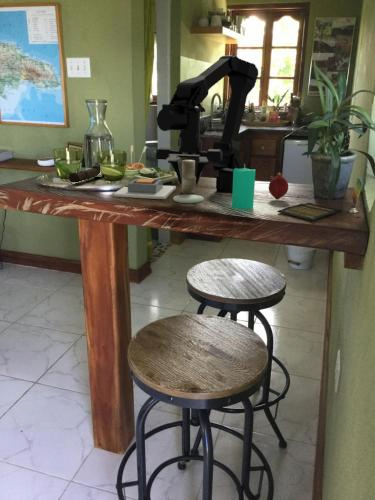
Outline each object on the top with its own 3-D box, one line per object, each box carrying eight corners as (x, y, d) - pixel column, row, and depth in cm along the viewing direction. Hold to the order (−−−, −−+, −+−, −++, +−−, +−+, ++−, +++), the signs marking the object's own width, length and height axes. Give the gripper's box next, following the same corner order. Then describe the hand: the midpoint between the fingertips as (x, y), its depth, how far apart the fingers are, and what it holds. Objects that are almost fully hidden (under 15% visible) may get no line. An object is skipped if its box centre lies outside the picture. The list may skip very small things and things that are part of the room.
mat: (205, 197, 137) (205, 195, 136) (201, 204, 128) (201, 202, 128) (176, 195, 138) (176, 193, 138) (170, 202, 130) (170, 200, 129)
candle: (256, 208, 124) (259, 165, 120) (236, 210, 122) (238, 165, 118) (247, 203, 129) (250, 161, 125) (228, 205, 128) (230, 162, 124)
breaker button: (155, 183, 143) (155, 179, 143) (151, 186, 138) (151, 182, 138) (140, 182, 144) (140, 178, 143) (135, 185, 139) (135, 181, 139)
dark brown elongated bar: (78, 184, 149) (76, 170, 147) (69, 184, 151) (67, 170, 149) (111, 176, 165) (110, 163, 164) (102, 176, 167) (101, 163, 165)
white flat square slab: (175, 188, 148) (175, 178, 147) (164, 199, 133) (164, 187, 132) (129, 186, 151) (128, 176, 150) (113, 196, 136) (112, 185, 135)
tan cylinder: (195, 191, 144) (195, 160, 141) (193, 194, 141) (193, 161, 137) (183, 190, 145) (183, 159, 142) (180, 193, 141) (180, 161, 138)
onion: (290, 201, 133) (292, 174, 130) (271, 201, 132) (273, 174, 130) (283, 197, 139) (285, 171, 136) (265, 197, 138) (267, 171, 135)
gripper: (225, 128, 132) (223, 180, 138) (163, 126, 135) (164, 178, 141) (221, 131, 122) (219, 188, 127) (154, 129, 125) (155, 184, 130)
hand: (188, 184), depth 132 cm, fingers open, 4 cm apart
